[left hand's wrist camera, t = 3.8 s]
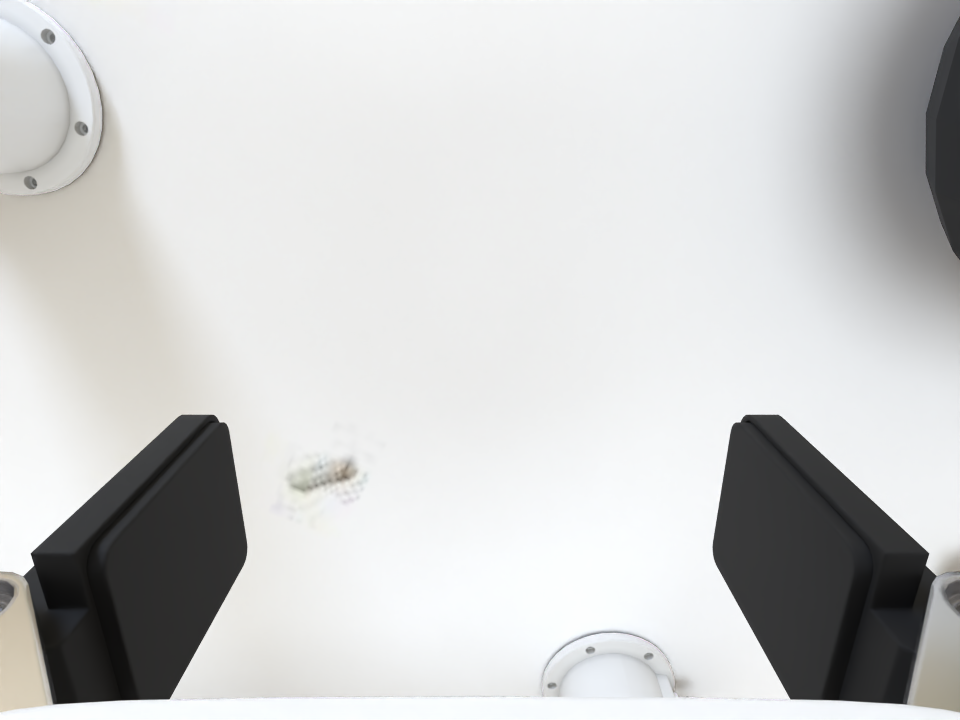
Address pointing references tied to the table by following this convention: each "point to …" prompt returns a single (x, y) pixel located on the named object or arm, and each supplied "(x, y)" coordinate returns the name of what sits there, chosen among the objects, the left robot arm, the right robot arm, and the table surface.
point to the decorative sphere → (946, 140)
